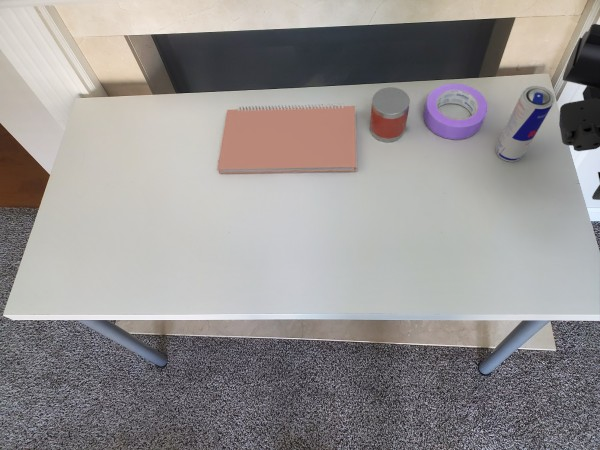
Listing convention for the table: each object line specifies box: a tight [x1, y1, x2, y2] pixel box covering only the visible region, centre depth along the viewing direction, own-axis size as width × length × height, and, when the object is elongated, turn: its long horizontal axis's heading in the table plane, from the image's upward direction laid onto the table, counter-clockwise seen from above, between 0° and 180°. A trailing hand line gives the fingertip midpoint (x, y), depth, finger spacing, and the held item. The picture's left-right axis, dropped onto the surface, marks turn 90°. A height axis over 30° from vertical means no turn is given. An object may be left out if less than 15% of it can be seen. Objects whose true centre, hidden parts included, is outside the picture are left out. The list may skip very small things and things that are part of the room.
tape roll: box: [423, 83, 489, 140], centre depth 89 cm, size 12×12×4 cm
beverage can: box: [495, 85, 556, 163], centre depth 79 cm, size 5×5×15 cm
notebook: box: [216, 103, 358, 175], centre depth 91 cm, size 27×17×2 cm, turn 88°
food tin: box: [369, 86, 411, 143], centre depth 87 cm, size 7×7×8 cm
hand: (590, 173), depth 67 cm, fingers open, 9 cm apart
